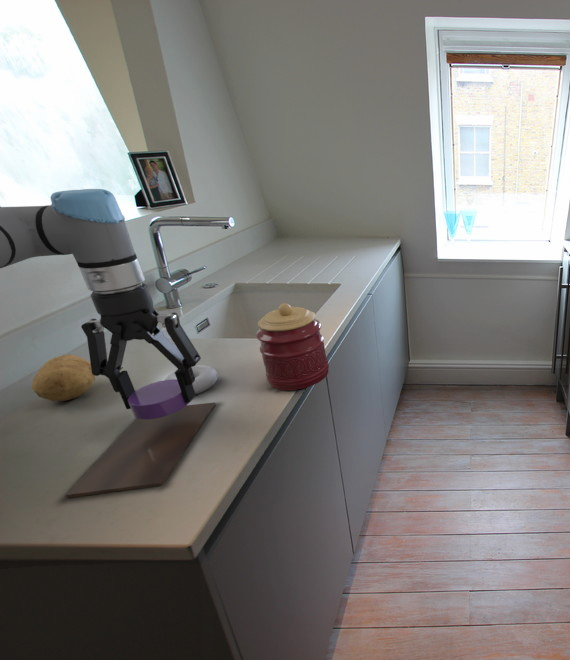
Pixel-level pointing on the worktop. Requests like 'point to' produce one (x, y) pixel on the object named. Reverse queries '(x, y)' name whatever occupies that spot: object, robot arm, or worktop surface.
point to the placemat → (143, 453)
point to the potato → (63, 378)
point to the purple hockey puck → (157, 400)
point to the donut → (200, 378)
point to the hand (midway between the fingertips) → (162, 401)
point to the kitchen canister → (292, 348)
